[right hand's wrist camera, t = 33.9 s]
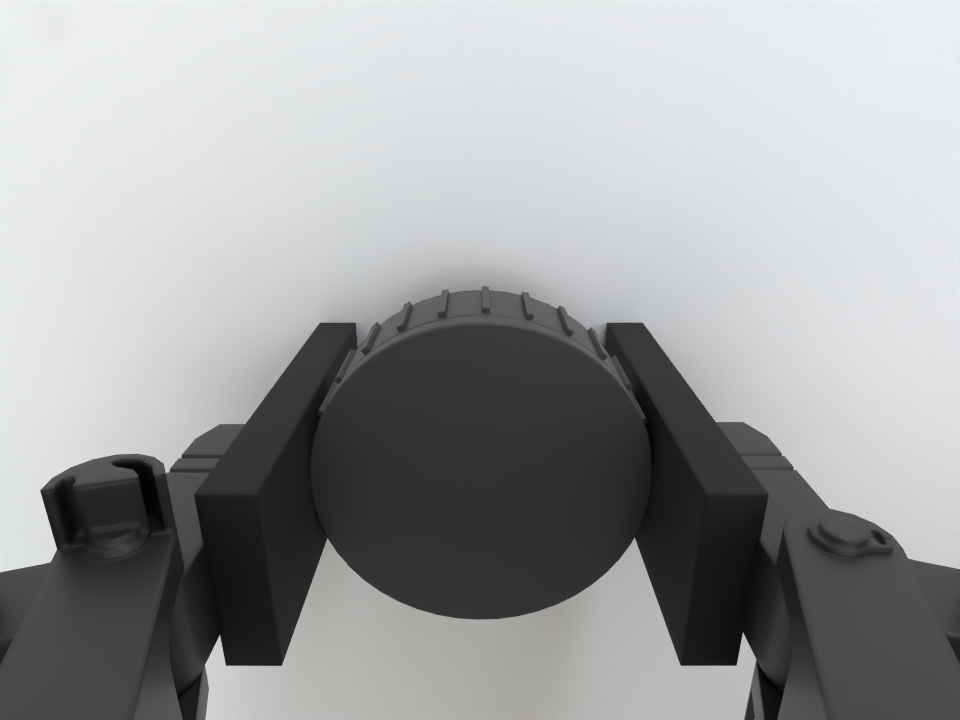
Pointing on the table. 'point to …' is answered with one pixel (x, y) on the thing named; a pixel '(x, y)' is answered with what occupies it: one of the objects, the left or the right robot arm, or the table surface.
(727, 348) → the table surface
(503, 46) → the table surface
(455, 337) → the lid
